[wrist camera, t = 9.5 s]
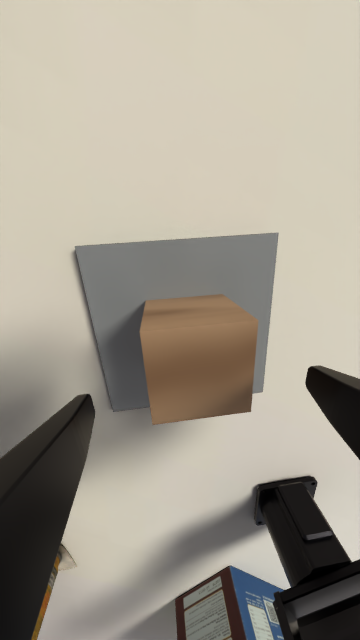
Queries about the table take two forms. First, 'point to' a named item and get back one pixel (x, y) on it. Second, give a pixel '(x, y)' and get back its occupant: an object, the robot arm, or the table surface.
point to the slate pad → (170, 296)
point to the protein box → (228, 609)
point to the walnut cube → (198, 357)
